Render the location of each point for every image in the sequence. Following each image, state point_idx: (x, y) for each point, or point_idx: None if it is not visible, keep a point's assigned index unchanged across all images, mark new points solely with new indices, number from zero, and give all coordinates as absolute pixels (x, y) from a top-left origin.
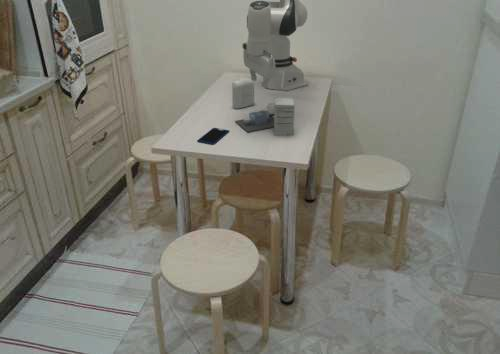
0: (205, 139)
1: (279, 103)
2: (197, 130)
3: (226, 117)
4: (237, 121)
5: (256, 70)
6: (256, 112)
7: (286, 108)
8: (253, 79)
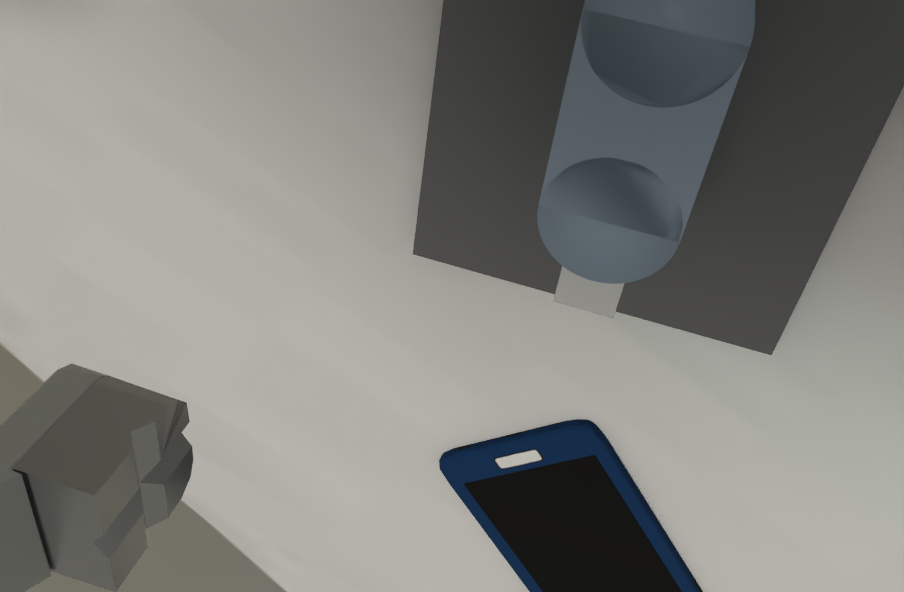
0: None
1: None
2: (399, 541)
3: (252, 221)
4: (445, 245)
5: None
6: (582, 143)
7: None
8: (171, 499)
